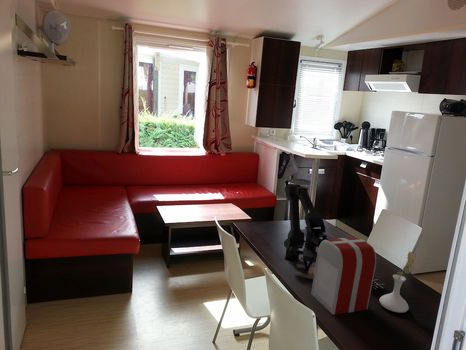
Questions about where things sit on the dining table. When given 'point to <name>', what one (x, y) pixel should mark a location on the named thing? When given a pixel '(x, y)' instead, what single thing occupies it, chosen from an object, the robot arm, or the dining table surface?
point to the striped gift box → (344, 274)
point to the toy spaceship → (323, 233)
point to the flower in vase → (394, 298)
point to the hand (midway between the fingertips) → (306, 271)
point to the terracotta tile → (311, 271)
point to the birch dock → (303, 273)
